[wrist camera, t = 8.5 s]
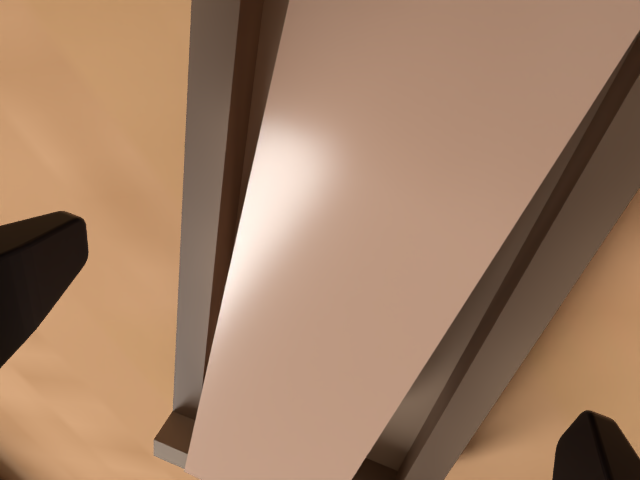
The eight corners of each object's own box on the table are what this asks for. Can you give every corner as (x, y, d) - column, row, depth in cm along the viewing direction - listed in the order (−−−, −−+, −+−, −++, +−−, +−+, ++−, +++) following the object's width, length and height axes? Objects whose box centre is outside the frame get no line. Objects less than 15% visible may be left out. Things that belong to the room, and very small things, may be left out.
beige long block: (687, -180, 8) (804, -226, 4) (353, 417, 17) (315, 535, 14) (430, -266, 8) (370, -363, 5) (244, 367, 18) (184, 471, 15)
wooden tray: (991, -470, 6) (1341, -735, 4) (420, 471, 19) (404, 565, 17) (293, -569, 7) (164, -826, 5) (201, 381, 21) (153, 455, 18)
